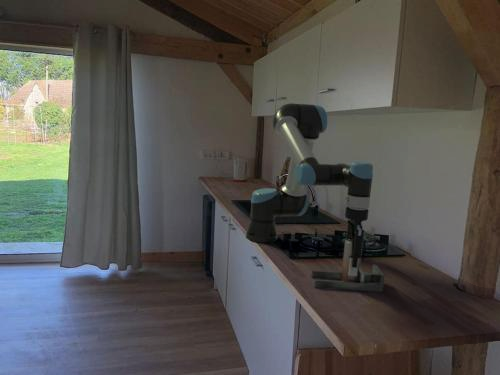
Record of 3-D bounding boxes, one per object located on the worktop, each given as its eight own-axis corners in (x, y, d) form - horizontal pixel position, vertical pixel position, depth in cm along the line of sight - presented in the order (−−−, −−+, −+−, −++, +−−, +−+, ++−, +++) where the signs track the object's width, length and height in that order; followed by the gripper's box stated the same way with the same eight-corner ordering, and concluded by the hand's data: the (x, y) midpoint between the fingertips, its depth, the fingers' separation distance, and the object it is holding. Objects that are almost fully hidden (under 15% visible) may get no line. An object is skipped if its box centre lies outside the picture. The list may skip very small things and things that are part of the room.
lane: (310, 276, 147) (312, 260, 146) (374, 280, 147) (376, 264, 145) (314, 287, 137) (316, 270, 136) (382, 291, 137) (384, 275, 136)
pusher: (355, 280, 145) (356, 267, 144) (364, 280, 145) (366, 267, 144) (360, 288, 138) (361, 274, 138) (369, 288, 138) (371, 274, 137)
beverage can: (345, 277, 146) (349, 237, 143) (360, 282, 142) (365, 241, 140) (337, 281, 141) (342, 241, 139) (353, 287, 138) (358, 245, 135)
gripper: (340, 201, 146) (334, 261, 150) (352, 213, 128) (345, 281, 132) (361, 202, 146) (354, 262, 150) (376, 214, 128) (368, 283, 132)
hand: (350, 271), depth 141 cm, fingers closed on beverage can, 6 cm apart
